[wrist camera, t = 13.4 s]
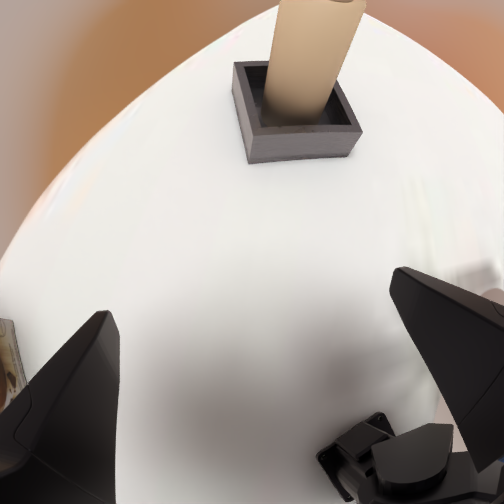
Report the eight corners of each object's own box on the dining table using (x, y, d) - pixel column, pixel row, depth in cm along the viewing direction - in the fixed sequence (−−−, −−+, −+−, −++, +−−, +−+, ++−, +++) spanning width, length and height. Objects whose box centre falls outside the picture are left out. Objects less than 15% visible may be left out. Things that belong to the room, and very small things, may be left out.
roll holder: (346, 156, 27) (362, 132, 23) (248, 164, 26) (253, 136, 22) (317, 88, 29) (327, 62, 26) (231, 90, 28) (233, 62, 24)
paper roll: (327, 115, 27) (377, 0, 14) (298, 147, 26) (348, 14, 12) (281, 88, 28) (309, -30, 14) (248, 116, 26) (266, -18, 13)
